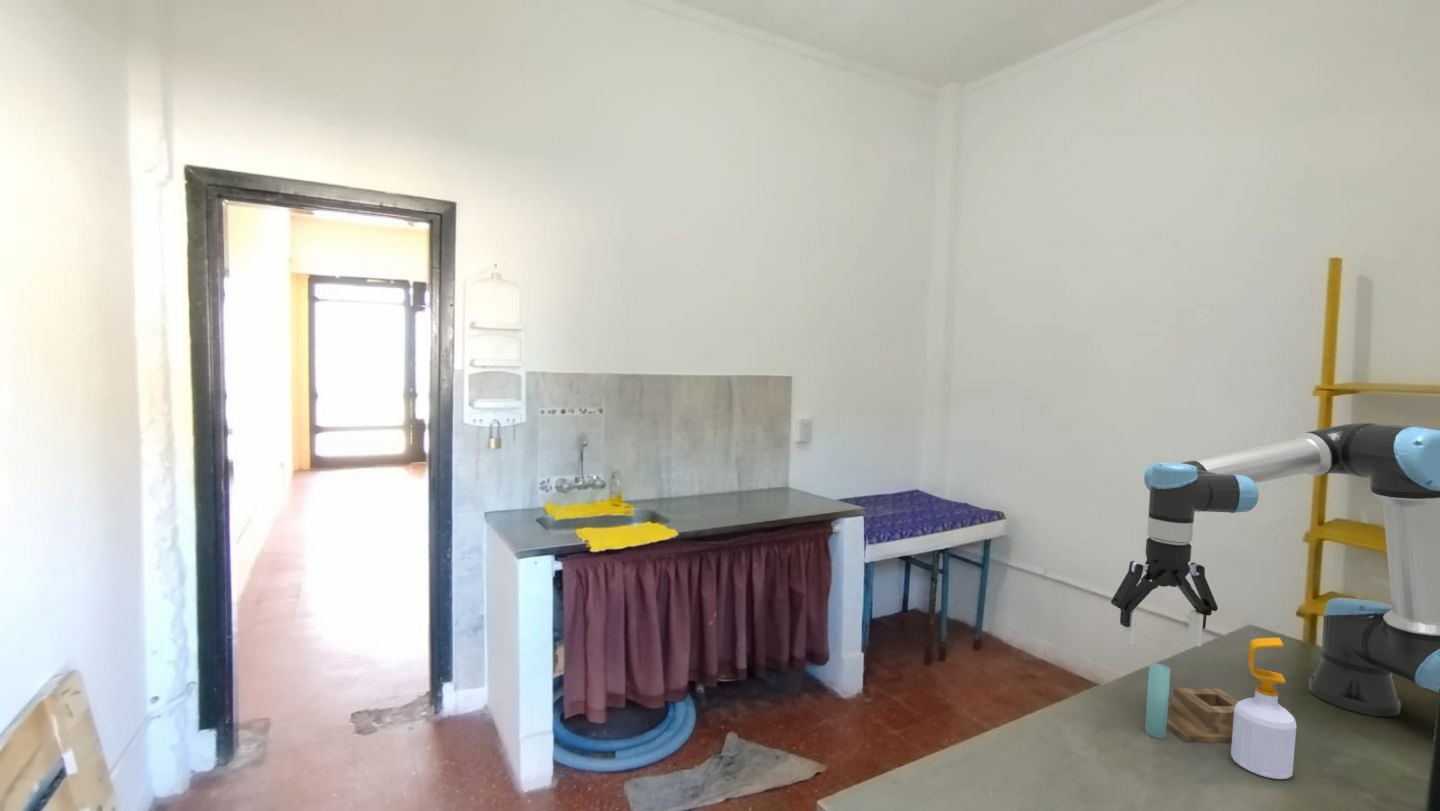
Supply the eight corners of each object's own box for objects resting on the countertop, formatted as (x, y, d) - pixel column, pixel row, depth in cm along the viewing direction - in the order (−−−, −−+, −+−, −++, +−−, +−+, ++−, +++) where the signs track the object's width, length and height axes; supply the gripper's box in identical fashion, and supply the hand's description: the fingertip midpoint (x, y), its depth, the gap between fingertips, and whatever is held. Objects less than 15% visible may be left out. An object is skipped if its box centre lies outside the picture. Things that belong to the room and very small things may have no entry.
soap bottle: (1297, 786, 119) (1308, 653, 117) (1233, 769, 123) (1243, 641, 122) (1287, 762, 126) (1297, 636, 125) (1227, 746, 131) (1236, 625, 129)
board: (1235, 711, 144) (1237, 686, 144) (1283, 743, 132) (1285, 715, 132) (1145, 710, 144) (1147, 685, 144) (1185, 742, 132) (1187, 714, 132)
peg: (1158, 728, 137) (1162, 663, 136) (1170, 738, 133) (1174, 671, 132) (1140, 728, 137) (1145, 662, 136) (1152, 738, 133) (1157, 671, 132)
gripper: (1215, 536, 137) (1207, 636, 138) (1096, 533, 136) (1089, 633, 137) (1245, 546, 129) (1236, 652, 130) (1119, 543, 129) (1111, 649, 130)
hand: (1161, 643), depth 134 cm, fingers open, 13 cm apart
